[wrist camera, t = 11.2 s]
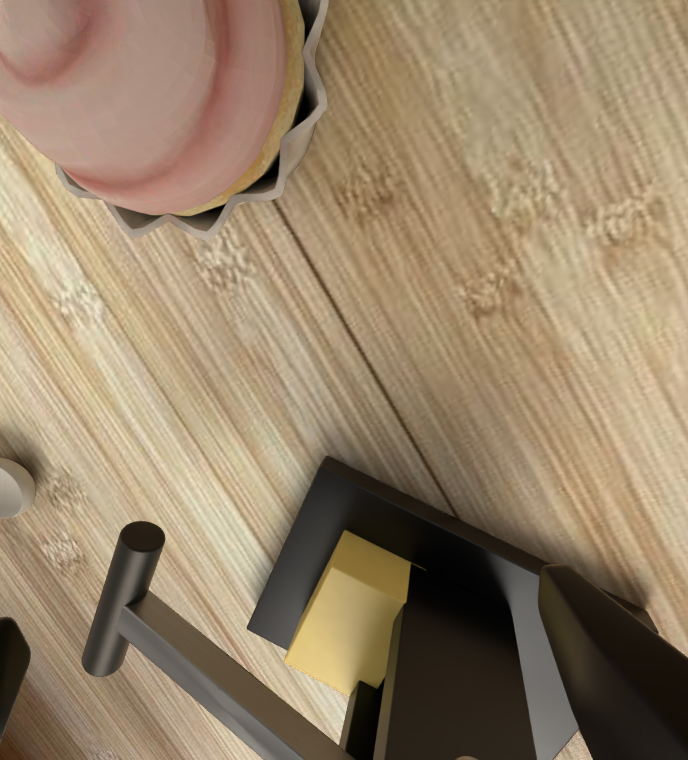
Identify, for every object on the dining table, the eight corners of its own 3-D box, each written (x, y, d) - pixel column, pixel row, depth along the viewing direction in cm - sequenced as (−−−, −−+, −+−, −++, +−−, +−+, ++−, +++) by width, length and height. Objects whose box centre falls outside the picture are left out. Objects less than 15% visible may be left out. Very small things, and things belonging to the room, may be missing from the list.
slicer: (255, 610, 23) (103, 899, 13) (326, 454, 20) (202, 666, 10) (531, 754, 22) (603, 1191, 12) (647, 610, 19) (874, 1024, 9)
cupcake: (240, 295, 19) (39, 344, 10) (72, 110, 19) (-314, -29, 9) (423, 104, 16) (389, -92, 7) (230, -123, 16) (-103, -688, 6)
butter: (344, 529, 20) (331, 566, 17) (427, 569, 19) (424, 613, 17) (300, 618, 21) (282, 662, 19) (376, 657, 21) (367, 706, 19)
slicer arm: (117, 626, 18) (57, 671, 16) (157, 507, 16) (94, 540, 14) (435, 902, 14) (412, 1011, 12) (530, 788, 12) (524, 892, 10)
